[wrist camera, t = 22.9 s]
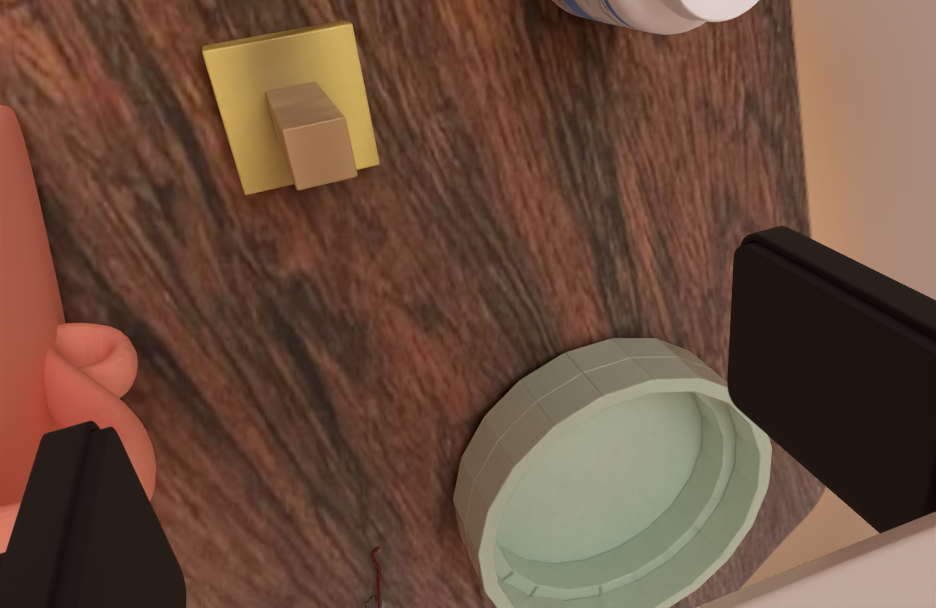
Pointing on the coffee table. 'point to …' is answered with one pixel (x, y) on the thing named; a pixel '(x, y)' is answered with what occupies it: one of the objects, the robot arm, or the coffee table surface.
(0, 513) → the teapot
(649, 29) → the pill bottle
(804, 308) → the robot arm
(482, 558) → the bowl
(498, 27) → the coffee table surface
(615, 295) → the coffee table surface
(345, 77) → the square plate with grip
